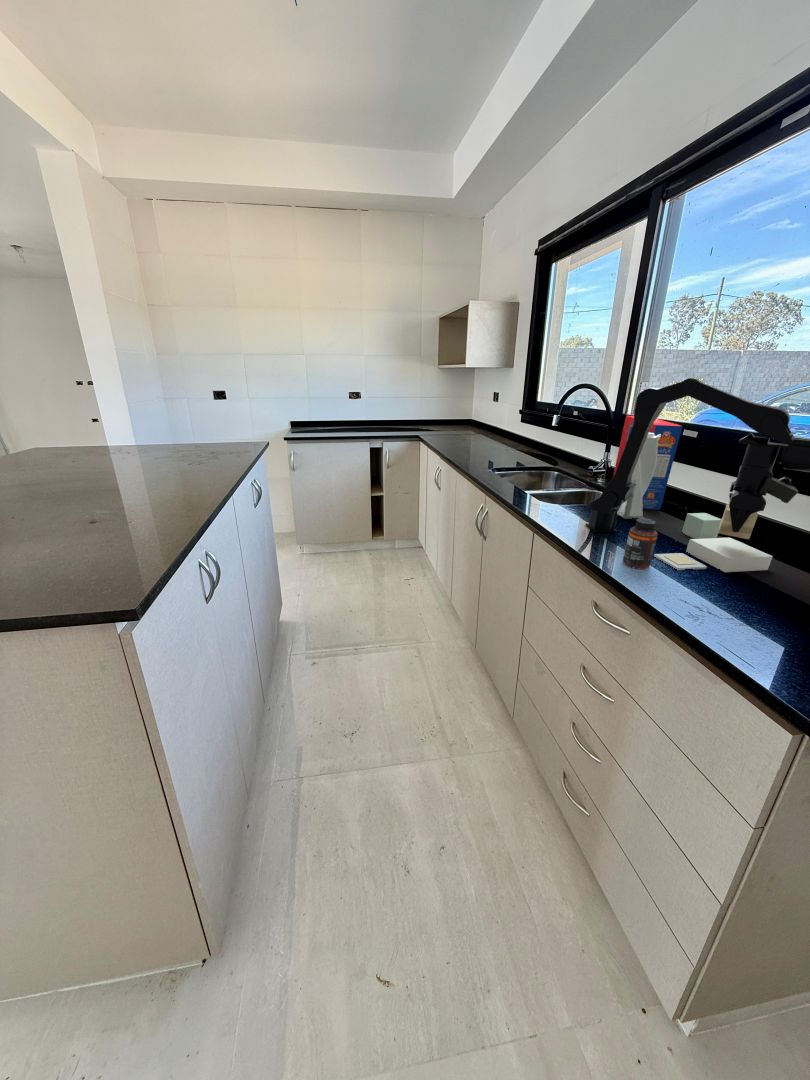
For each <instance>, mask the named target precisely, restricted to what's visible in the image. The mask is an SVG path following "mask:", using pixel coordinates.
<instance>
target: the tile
mask: <svg viewBox="0 0 810 1080" xmlns="http://www.w3.org/2000/svg"><path fill="white" fill-rule="evenodd" d="M655 557H656V558H655ZM653 558H655V559H657V560H659V561H660V560H661V561H660V562H662V561H663V562H662V563H664V564H665V563H666V565H667V564H668V566H669V565H670V566H671V568H672V567H673V568H672V569H674V568H675V569H677V570H676V571H686V570H685V569H693V570H706V569H707V568H708V565H705V564H704V563H702V562H699V561H697V560H696V559H694V558H692V557H690V556H688V555H687V554H684V553H682V552H681V553H680V552H679V553H678V552H674V553H655V554H654V553H653ZM670 566H669V567H670ZM675 569H674V570H675Z"/></svg>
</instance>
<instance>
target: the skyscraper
mask: <svg viewBox="0 0 810 1080" xmlns="http://www.w3.org/2000/svg"><path fill="white" fill-rule="evenodd" d="M660 437H661V434H659V435H657V436H654V433H648V436H647V438H646V441H645V443H644V446H643V448H642V451H641V453H640V456H639V458H638V461H637V464H636V466H635V469H634V471H633V474H632V481H631V483H635V484H636V486H635V488H634V489H633V492H632V497H631V498H629V499H628V500H627V501H625V502H624V503H622V504H621V505H620V506H619V509H618V511H617V515H618V516H619V517H622V518H623V519H624V520H626V519H627V520H629V519H631V520H633V519H632V518H646V517H644V515H643V510H644V509H643V507H642V497H643V495H644V493H645V492H646V490H647V488H648V486H649V484H650V481H651V479H652V476H653V473H654V470H655V466H656V461H657V449H658V440H659V439H660Z"/></svg>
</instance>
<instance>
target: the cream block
mask: <svg viewBox="0 0 810 1080" xmlns="http://www.w3.org/2000/svg"><path fill="white" fill-rule="evenodd" d="M687 552H688V553H687ZM685 553H687V554H689V553H690V554H689V555H692V557H695V558H696V559H699V560H701V561H702V562H704V563H707V564H708V565H710V566H712V567H714V568H716V569H717V570H719V569H720V570H719V571H722V572H723V573H732V572H733V573H734V572H735V573H736V572H752V571H753V572H754V571H768V570H769V567H770V566H771V565H770V564H771V561H772V559H773V558H774V557H773V555H771V554H769V553H765V552H764V551H761V550H759V549H757V548H754V547H752V546H750V545H748V544H745V543H744V542H741V541H739V540H737V539H734V538H731V537H717V538H706V539H694V538H690V539H689V541H688V544H687V547H686V551H685Z"/></svg>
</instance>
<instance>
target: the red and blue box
mask: <svg viewBox="0 0 810 1080" xmlns="http://www.w3.org/2000/svg"><path fill="white" fill-rule="evenodd" d="M633 424H634V415H626V416H625V419H624V424H623V428H622V433H621V437H620V438H621V439H620V444H619V447H618V451H617V456H616V460H615V461H616V462H615V464H614V465H615V466H614V471H613V475H612V477H613V476H614V474H615V472H616V470H617V467H618V464H619V462H620V459H621V456H622V454H623V451H624V448H625V445H626V443H627V440H628V437H629V435H630V432H631V429H632V427H633ZM682 429H683V425H680V424H677V423H673V422H669V421H665V420H662V419H659V418H657V419H656V420H655V421H654V423H653V424H652V426H651V428H650V430H649V433H654V436H657V435H659V434H661V437H660V439H659V440H658V449H657V461H656V466H655V470H654V473H653V476H652V479H651V481H650V484H649V486H648V488H647V490H646V492H645V493H644V495H643V497H642V507H643V510H652V509H653V510H654V511H655V510H656V511H660V510H661V508H662V504H663V500H664V496H665V493H666V490H667V485H668V482H669V478H670V474H671V471H672V467H673V463H674V459H675V455H676V452H677V448H678V445H679V441H680V437H681V434H682V431H683V430H682ZM653 510H652V511H653Z"/></svg>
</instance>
